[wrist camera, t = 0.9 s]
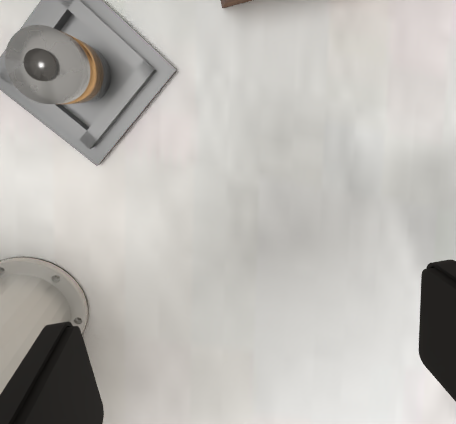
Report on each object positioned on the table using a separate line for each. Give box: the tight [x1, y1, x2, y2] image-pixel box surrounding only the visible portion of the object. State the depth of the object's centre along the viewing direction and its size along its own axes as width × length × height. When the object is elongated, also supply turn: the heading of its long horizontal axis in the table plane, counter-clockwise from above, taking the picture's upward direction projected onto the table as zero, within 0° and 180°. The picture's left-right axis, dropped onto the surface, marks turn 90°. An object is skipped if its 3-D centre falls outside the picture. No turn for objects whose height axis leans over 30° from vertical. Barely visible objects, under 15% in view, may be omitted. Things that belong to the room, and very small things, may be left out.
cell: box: [5, 25, 111, 104], centre depth 29 cm, size 5×5×10 cm
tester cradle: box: [0, 0, 177, 166], centre depth 33 cm, size 12×12×2 cm
